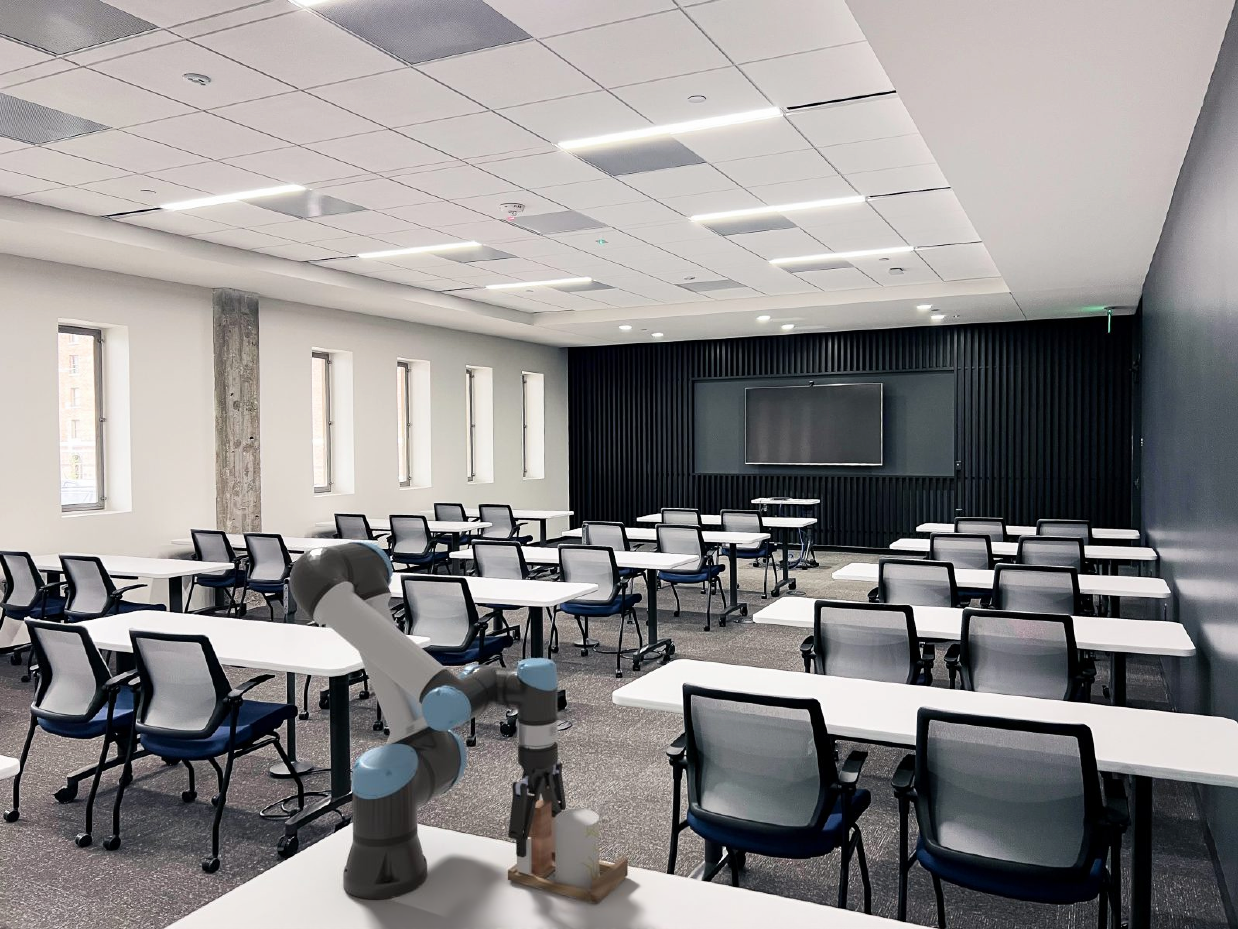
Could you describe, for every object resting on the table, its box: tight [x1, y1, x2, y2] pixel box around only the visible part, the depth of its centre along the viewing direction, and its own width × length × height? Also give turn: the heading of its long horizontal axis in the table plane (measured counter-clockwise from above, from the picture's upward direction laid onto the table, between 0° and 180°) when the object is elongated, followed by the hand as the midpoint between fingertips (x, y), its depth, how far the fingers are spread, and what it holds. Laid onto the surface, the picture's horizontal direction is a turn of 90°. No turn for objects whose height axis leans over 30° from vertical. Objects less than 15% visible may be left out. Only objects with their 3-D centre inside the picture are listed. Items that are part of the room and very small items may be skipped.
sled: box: [507, 799, 629, 904], centre depth 166 cm, size 19×12×13 cm, turn 62°
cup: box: [554, 808, 600, 891], centre depth 165 cm, size 8×8×12 cm
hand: (538, 861), depth 169 cm, fingers closed on sled, 9 cm apart
